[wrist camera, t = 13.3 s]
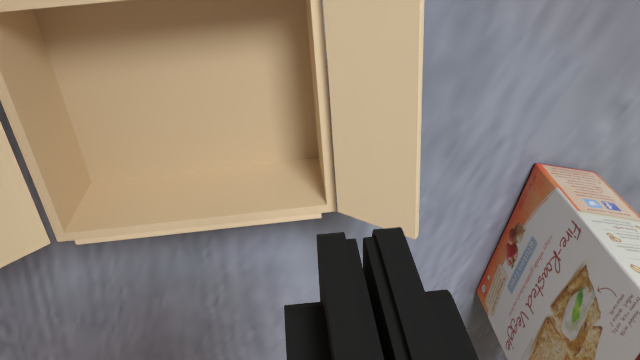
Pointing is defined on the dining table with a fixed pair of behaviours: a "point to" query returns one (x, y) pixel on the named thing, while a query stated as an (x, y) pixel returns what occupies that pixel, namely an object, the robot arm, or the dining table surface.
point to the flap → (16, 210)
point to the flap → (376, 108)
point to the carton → (169, 113)
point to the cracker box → (566, 272)
